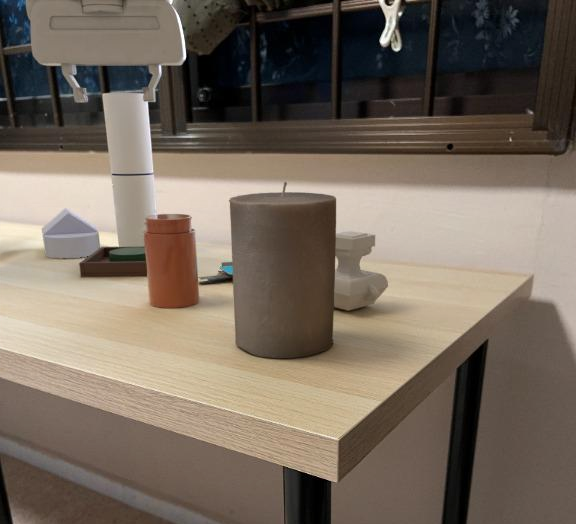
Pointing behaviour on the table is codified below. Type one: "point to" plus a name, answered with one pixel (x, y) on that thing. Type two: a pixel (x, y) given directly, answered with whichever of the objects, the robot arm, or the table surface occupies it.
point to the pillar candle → (283, 272)
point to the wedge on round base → (70, 236)
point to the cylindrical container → (130, 164)
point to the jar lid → (127, 254)
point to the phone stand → (221, 274)
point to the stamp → (355, 272)
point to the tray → (110, 265)
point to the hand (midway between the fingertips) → (115, 102)
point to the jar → (171, 260)
